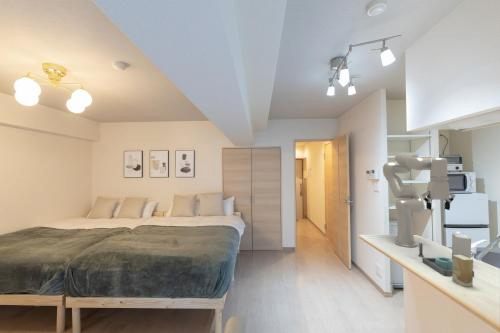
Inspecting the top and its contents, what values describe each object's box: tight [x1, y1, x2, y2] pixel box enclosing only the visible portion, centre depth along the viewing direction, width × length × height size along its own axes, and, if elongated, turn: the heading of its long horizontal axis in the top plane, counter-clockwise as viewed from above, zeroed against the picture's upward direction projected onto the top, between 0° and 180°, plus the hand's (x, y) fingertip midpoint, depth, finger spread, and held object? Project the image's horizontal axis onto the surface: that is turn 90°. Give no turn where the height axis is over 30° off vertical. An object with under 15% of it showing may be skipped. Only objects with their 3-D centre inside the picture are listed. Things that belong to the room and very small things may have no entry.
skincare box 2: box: [451, 255, 474, 287], centre depth 113 cm, size 6×4×12 cm
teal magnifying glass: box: [434, 256, 453, 270], centre depth 128 cm, size 12×8×6 cm, turn 175°
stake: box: [417, 242, 425, 258], centre depth 148 cm, size 3×3×8 cm
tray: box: [421, 257, 475, 278], centre depth 129 cm, size 18×14×2 cm
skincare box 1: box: [451, 232, 472, 259], centre depth 137 cm, size 8×7×16 cm
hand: (438, 209), depth 141 cm, fingers open, 9 cm apart
